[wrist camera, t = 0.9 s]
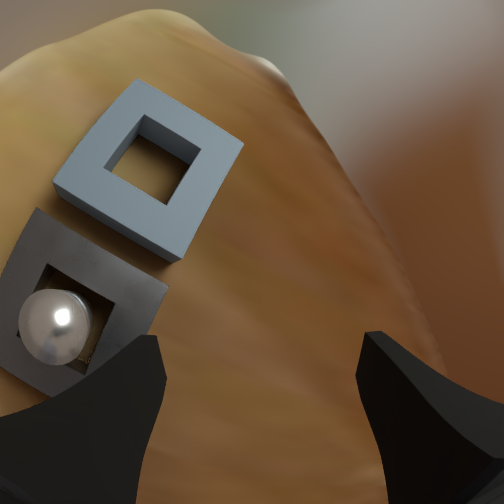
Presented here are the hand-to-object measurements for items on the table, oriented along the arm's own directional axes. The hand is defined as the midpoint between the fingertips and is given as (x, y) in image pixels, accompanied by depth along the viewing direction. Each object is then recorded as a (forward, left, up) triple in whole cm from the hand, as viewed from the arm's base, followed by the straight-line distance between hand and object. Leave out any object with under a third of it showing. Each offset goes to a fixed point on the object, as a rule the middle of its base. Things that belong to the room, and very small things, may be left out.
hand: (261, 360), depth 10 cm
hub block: (0, +12, -12) cm, 17 cm away
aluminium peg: (-7, +3, -12) cm, 15 cm away
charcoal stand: (-7, +3, -12) cm, 15 cm away
